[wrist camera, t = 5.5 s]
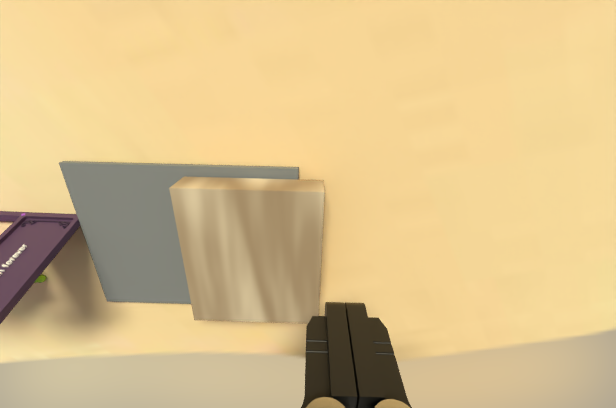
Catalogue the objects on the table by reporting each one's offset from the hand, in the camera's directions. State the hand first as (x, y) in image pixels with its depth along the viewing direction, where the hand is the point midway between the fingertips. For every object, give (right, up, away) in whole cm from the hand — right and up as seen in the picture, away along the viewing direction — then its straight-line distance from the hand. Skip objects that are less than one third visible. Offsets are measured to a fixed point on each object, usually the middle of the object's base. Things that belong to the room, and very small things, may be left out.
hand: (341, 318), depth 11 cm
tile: (-1, +2, +4) cm, 4 cm away
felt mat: (-8, +2, +5) cm, 10 cm away
